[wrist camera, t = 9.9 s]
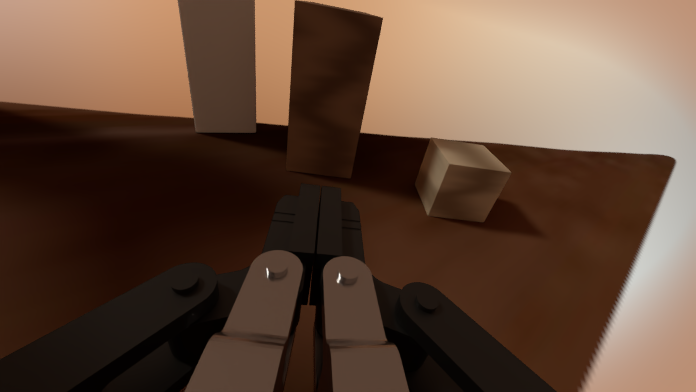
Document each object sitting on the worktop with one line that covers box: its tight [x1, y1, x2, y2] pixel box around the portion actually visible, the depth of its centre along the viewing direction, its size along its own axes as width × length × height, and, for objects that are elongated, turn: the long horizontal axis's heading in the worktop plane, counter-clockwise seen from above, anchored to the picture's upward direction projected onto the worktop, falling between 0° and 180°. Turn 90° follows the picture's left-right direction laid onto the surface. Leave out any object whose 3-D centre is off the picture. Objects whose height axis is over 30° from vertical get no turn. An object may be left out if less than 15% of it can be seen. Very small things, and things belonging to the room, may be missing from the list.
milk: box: [178, 0, 256, 133], centre depth 26 cm, size 6×6×22 cm
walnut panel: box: [286, 0, 383, 179], centre depth 29 cm, size 6×15×13 cm, turn 2°
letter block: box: [415, 138, 511, 222], centre depth 25 cm, size 5×5×5 cm
